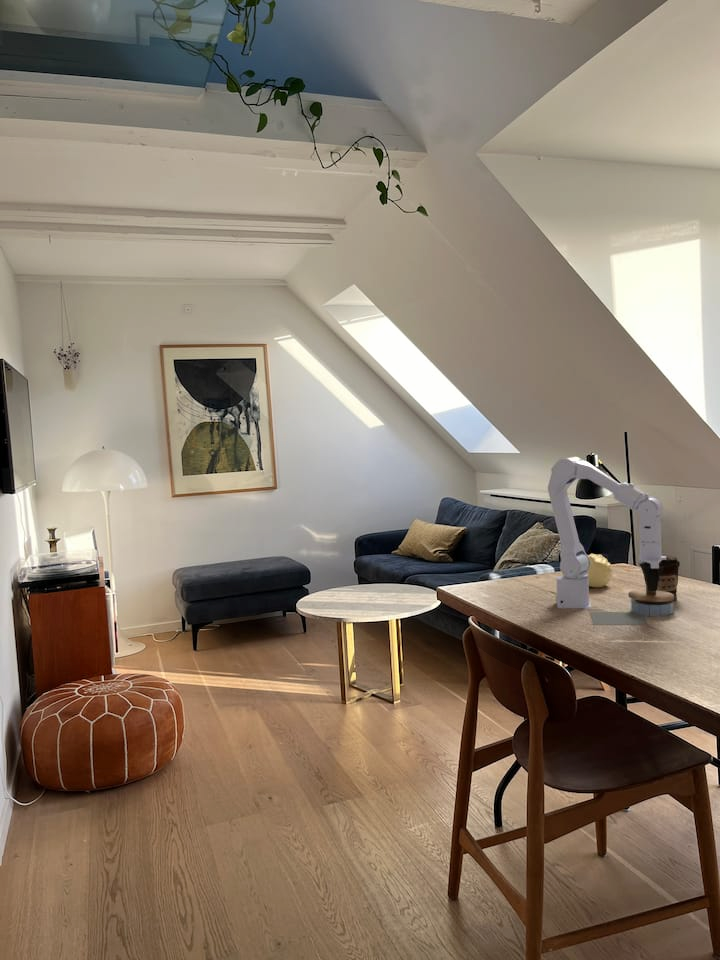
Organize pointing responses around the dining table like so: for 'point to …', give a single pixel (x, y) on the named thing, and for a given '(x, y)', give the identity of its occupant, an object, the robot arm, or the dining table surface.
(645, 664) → the dining table surface
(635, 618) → the plate
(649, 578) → the robot arm
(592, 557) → the sculpture
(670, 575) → the coffee cup
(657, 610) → the dish
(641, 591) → the lid
